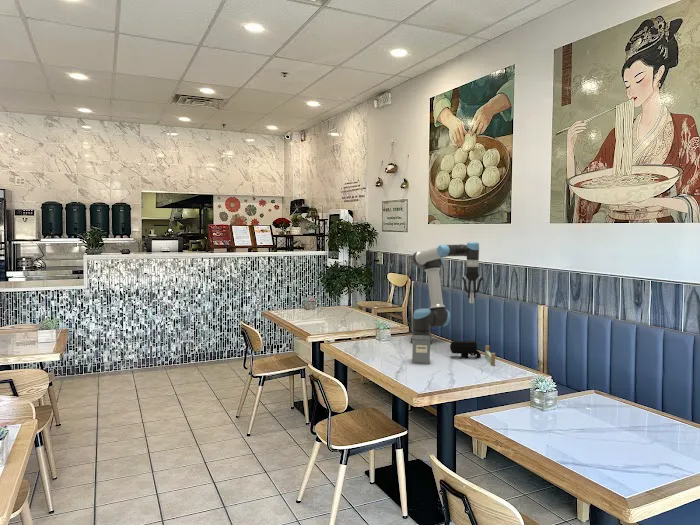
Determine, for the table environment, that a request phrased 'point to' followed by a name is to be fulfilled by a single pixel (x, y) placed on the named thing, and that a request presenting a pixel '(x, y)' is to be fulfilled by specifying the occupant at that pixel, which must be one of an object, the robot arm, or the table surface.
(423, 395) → the table surface
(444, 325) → the robot arm
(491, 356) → the backstop
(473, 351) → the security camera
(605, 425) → the table surface
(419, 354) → the box
